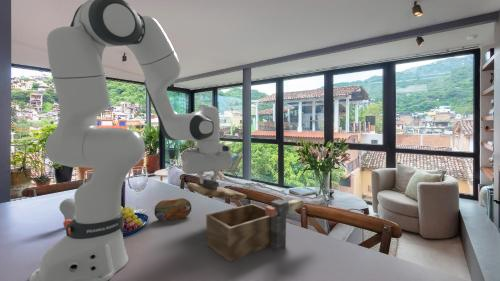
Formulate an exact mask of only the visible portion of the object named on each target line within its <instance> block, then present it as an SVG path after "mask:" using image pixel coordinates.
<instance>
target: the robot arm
mask: <svg viewBox="0 0 500 281" xmlns="http://www.w3.org/2000/svg"><path fill="white" fill-rule="evenodd" d="M46 38H47V39H46V46H47V56H48V63H49V69H50V73H51V77H52V81H53V84H54V88H55V93H56V97H57V100H58V106H59V107H58V108H59V116H58V117H59V119H58V122H57V126H56V127H55V129H54V130H53V131H52V132H51V133H50V134H49V135H48V136H47V139H46V141H45V145H44V152H45V154H46V157H47V158H48V160H50V162H52V163H54V164H57V165H61V166H65V167H69V168H92V173H91V177H90V179H89V180H88V181H86V182H84V183H82V184H81V185H80V186H78V188H77V189H76V190H75V192H74V196H73V199H74V200H75V219H74V220H71V219H66V220H65V219H64V221H63V223H62V224H63V227H64V228H65V233H66V234H65V235H64V236H63V237H62V238H61V239H60V240H58V241H57V242H56V243H54V244H53V245H52V246H51V247H50V248H48V249H47V250H46V251H45V253H44V255H43V256H42V259H41V262H40V265H39V268H37V269H36V270H34V271H33V273H32V274H31V275H30V277H29V279H28V281H109V280H111V279H112V278H113V276H114V275H115V274H116V273H117V272H118V271H120V270H121V269H122V268H123V267H125V266H126V265H127V263H128V262H129V255H128V253H127V251H126V247H125V243H124V242H125V241H124V236H123V232H124V225H125V224H124V214H123V212H122V189H123V185H124V181H125V180H126V177H127V175H128V174H129V172H130V171H131V170H132V169H133V168H134V167H136V166H137V165H138V164H139V163H140V162H141V161H142V160H143V158H144V155H145V152H146V144H145V141H144V138H143V137H142V136H141V134H140V133H139V132H138V131H135V130H130V129H126V128H121V127H98V126H97V117H98V116H99V115H101V114H102V113H104V112H106V110H108V107H109V106H110V104H111V98H110V93H109V88H108V84H107V78H106V73H105V69H104V65H103V54H104V50H105V49H106V47H109V48H110V47H120V46H121V47H122V46H125V47H127V48H128V49H129V50H130V51H131V52H132V54H133V55H134V56H135V58H136V60H137V63H138V64H139V66H140V69H141V70H142V72H143V76H144V86H145V91H146V93H147V95H148V98H149V100H150V102H151V105H152V107H153V109H154V112H155V114H156V116H157V119H158V122H159V125H160V130H161V133H162V136H164V137H165V139H167V140H169V141H196V148H187V149H186V150H184V151H183V152H182V160H183V161H182V172H183V173H184V174H185V175H193V174H197V176H198V179H199V178H200V183H201V184H205V183H206V182H205V181H206V179H204V178H205V177H204V176H203V175H204V173H208V172H210V173H211V172H213V175H212V176H211V177H210V180H212V181H215V182H217V178H218V175H219V174H220V171H224V170H231V168H232V167H233V155H232V153H231V151H232V150H231V149H232V148H231V146H230V145H228V144H223V143H221V142H220V141H221V140H220V136H219V135H220V128H221V127H220V126H221V124H220V122H221V121H220V114H219V109H218V107H216V106H214V105H208V104H202V105H199V106H198V108H197V109H196V110H195V111H193V112H191V113H178V112H177V111H176V110H174V108H173V105H172V103H171V100H170V98H169V94H168V87H169V86H171V85H173V83H174V82H176V80H178V78H179V76H180V74H181V70H182V68H181V62H180V59H179V57H178V54H177V53H176V50H175V48H174V46H173V44H172V42H171V41H170V39H169V37H168V35H167V33H166V32H165V30H164V29H163V27H162V26H161V24H160V23H159V22H158V21H157V19H155V18H154V17H152V16H149V15H141V14H139V13H138V12H137V11H136V10H135V8H133V7H132V6H131V5H130V4H129V3H128V2H127V1H126V0H86V2H83V4H81V5H80V6H78V8H76V10H75V12H74V14H73V19H72V21H71V23H70V26H61V27H56V28H55V29H53V30H51V31H50V32H49V33H48V35H47V37H46Z"/></svg>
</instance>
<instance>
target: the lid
mask: <svg viewBox="0 0 500 281" xmlns="http://www.w3.org/2000/svg"><path fill="white" fill-rule="evenodd" d="M203 178H204V179H206V181H205V182H206V183H205V184H201V183H200V178H199V177H198V181H197V182H198V183H196V182H195V183H193V182H187V185H186V186H187V187H190V190H191V191H193V192H195V193H198V194H200V195H201V196H204V197H212V198H219V199H221V198H222V199H229V200H230V199H231V200H235V201H237V200H238V201H242V199H247V194H244V193H242V192H239V191H236V190H233V189H230V188H227V187H221V186H219V181H216V182H215V181H212V180H211V178H207V177H203Z"/></svg>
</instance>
